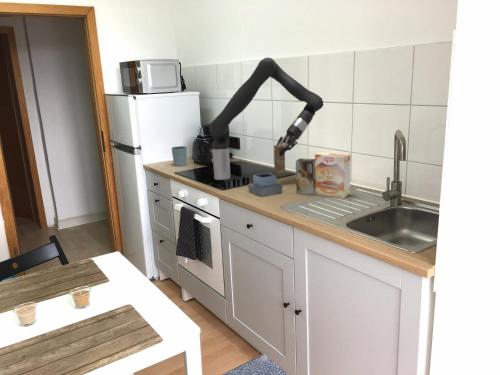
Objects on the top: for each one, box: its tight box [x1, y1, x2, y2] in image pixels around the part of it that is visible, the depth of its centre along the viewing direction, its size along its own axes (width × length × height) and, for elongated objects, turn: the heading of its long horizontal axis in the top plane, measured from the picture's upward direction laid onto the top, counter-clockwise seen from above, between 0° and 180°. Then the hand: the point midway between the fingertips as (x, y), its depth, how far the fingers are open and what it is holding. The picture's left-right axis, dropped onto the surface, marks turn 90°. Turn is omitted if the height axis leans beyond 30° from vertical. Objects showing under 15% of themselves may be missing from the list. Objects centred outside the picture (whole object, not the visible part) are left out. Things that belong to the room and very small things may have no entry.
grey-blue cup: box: [171, 145, 188, 167], centre depth 284 cm, size 10×10×12 cm
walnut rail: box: [273, 144, 286, 175], centre depth 220 cm, size 4×4×14 cm
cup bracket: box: [247, 172, 283, 198], centre depth 209 cm, size 12×12×8 cm
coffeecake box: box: [314, 151, 352, 199], centre depth 198 cm, size 15×7×20 cm, turn 53°
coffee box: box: [295, 158, 316, 196], centre depth 204 cm, size 9×6×16 cm
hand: (277, 154), depth 218 cm, fingers closed on walnut rail, 4 cm apart
